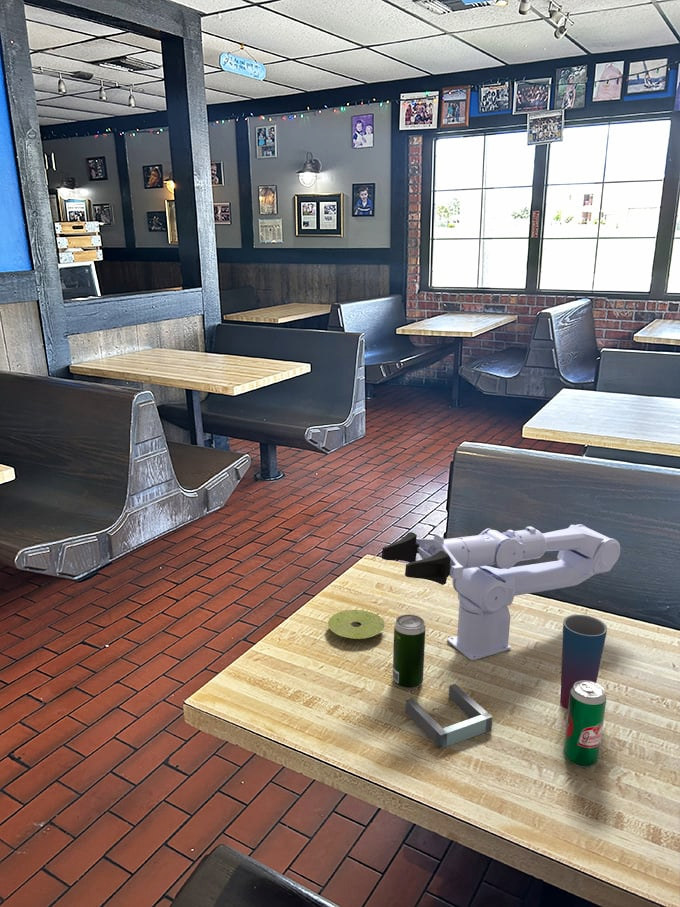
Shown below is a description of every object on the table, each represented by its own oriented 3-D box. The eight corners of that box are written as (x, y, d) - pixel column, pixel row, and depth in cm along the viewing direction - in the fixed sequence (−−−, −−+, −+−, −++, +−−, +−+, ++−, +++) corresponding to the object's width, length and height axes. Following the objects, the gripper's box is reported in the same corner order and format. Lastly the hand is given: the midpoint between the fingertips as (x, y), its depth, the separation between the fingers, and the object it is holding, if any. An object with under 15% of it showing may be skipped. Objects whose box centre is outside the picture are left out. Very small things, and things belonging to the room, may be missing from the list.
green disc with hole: (336, 614, 149) (336, 605, 148) (389, 622, 146) (389, 613, 145) (320, 642, 138) (320, 633, 138) (377, 651, 135) (377, 642, 135)
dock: (454, 696, 122) (455, 683, 121) (491, 730, 114) (492, 716, 113) (405, 712, 118) (405, 699, 117) (439, 749, 109) (440, 735, 108)
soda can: (578, 773, 105) (587, 702, 101) (555, 751, 109) (563, 683, 106) (605, 763, 106) (615, 694, 103) (581, 742, 111) (590, 675, 108)
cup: (597, 696, 122) (607, 618, 118) (597, 720, 116) (607, 639, 112) (555, 688, 124) (564, 611, 120) (553, 711, 118) (562, 631, 114)
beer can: (405, 695, 122) (407, 632, 119) (386, 679, 127) (388, 619, 123) (429, 685, 125) (432, 624, 122) (409, 670, 129) (412, 610, 126)
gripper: (437, 519, 134) (375, 525, 128) (486, 547, 122) (420, 556, 115) (433, 554, 136) (371, 562, 130) (481, 585, 123) (415, 596, 117)
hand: (394, 561), depth 123 cm, fingers open, 7 cm apart
